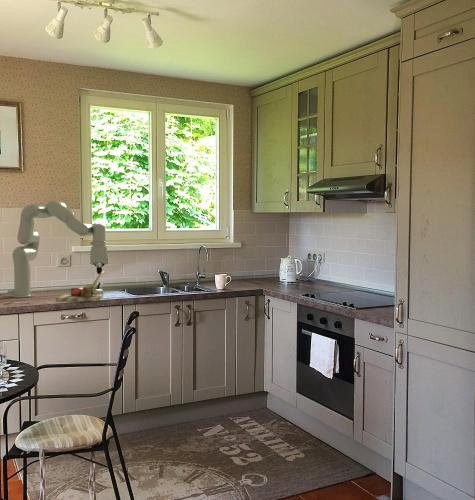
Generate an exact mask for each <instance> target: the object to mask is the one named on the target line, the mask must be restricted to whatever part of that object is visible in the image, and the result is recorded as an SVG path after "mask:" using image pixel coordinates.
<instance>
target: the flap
mask: <svg viewBox="0 0 475 500" xmlns="http://www.w3.org/2000/svg"><path fill="white" fill-rule="evenodd" d="M104 274H105V270H102V272H101V273H100V274H98V276H97V277H96V279H95V280H94V281H93V282H92V284H91V287H93V286H94V287H95V286H96V284H97V282H99V281H100V279H101V277H102V276H103V275H104Z"/></svg>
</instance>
